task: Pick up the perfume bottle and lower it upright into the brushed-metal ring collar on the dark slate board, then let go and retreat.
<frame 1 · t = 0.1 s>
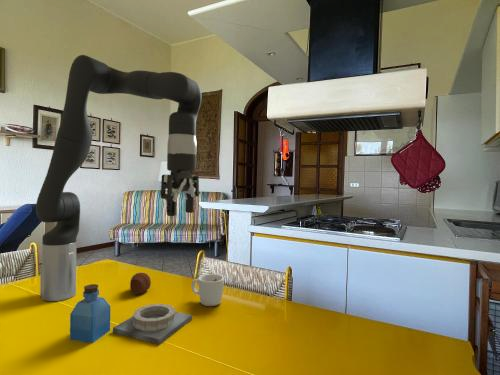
hand: (180, 214, 82), 29 cm above the table, fingers open, 8 cm apart
perfume bottle: (90, 335, 76), on the table
ring block: (154, 325, 81), on the table
cup: (206, 303, 97), on the table
potato: (140, 292, 105), on the table
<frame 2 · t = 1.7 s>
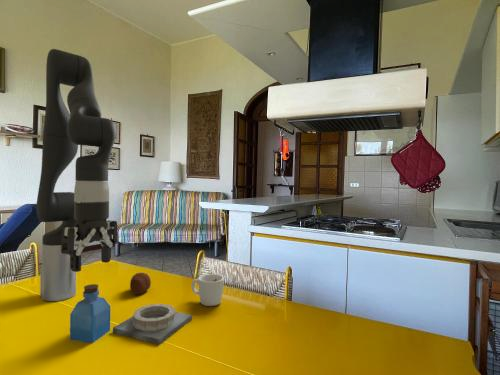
hand: (91, 266, 75), 17 cm above the table, fingers open, 8 cm apart
nothing on the table moved.
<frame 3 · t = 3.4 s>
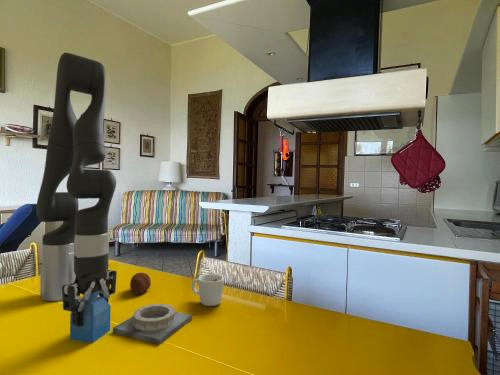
hand: (91, 319, 75), 4 cm above the table, fingers closed on perfume bottle, 6 cm apart
perfume bottle: (90, 335, 76), on the table, touching gripper
everything else where it was.
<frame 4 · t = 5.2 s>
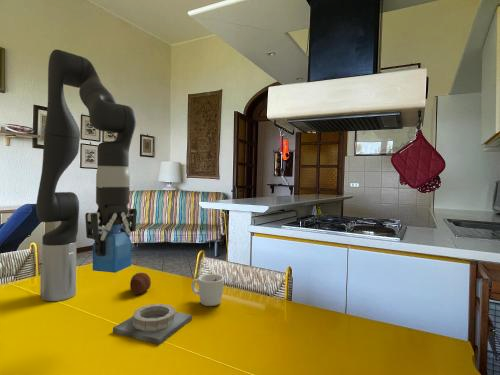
hand: (112, 252, 76), 20 cm above the table, fingers closed on perfume bottle, 6 cm apart
perfume bottle: (112, 268, 76), point 16 cm above the table, touching gripper
everything else where it was.
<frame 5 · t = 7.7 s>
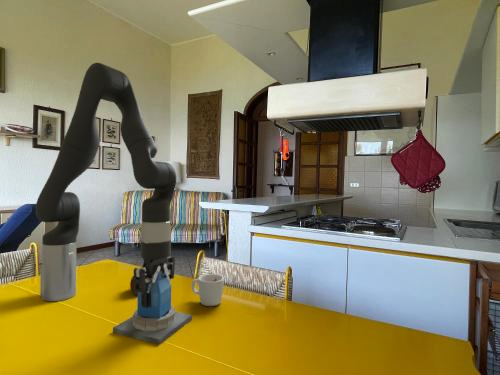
hand: (155, 301, 81), 6 cm above the table, fingers closed on perfume bottle, 6 cm apart
perfume bottle: (154, 312, 81), point 3 cm above the table, touching gripper, ring block
everything else where it was.
when the fingers open (6 cm above the table, at t = 8.2 s): perfume bottle stays where it is, resting on ring block.
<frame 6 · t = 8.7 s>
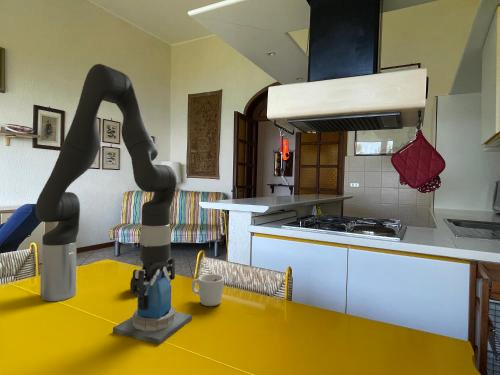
hand: (154, 303, 81), 6 cm above the table, fingers open, 8 cm apart
perfume bottle: (154, 312, 81), point 3 cm above the table, touching ring block
everything else where it was.
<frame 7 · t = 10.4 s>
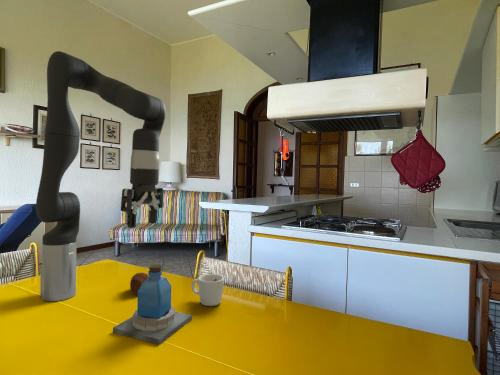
hand: (142, 225, 87), 25 cm above the table, fingers open, 8 cm apart
nothing on the table moved.
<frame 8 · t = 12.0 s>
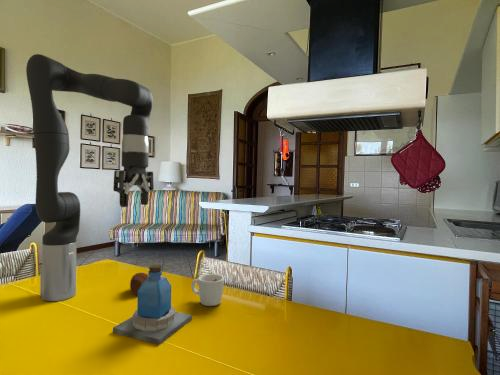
hand: (134, 205, 93), 30 cm above the table, fingers open, 8 cm apart
nothing on the table moved.
at the end: perfume bottle 0.0 cm off-centre on the ring block, point 3.4 cm above the ring block's base; perfume bottle tilted 0°; the gripper is holding nothing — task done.
